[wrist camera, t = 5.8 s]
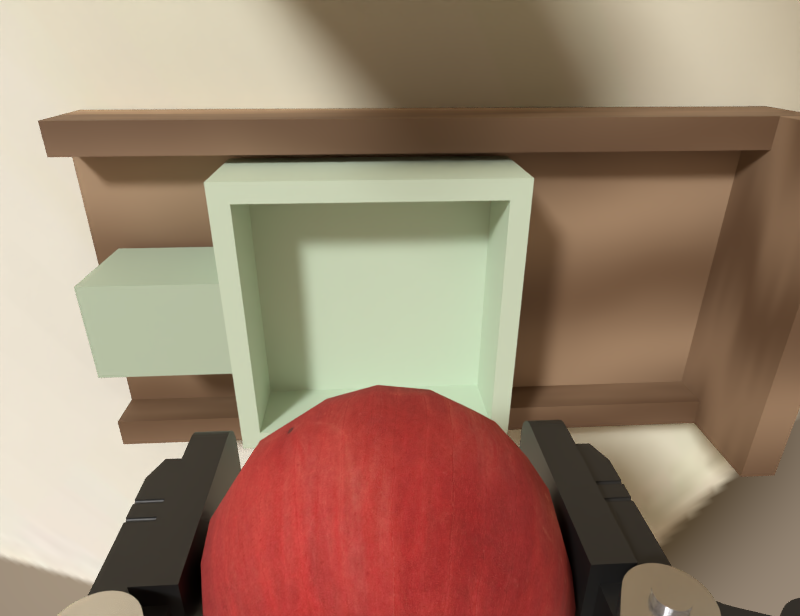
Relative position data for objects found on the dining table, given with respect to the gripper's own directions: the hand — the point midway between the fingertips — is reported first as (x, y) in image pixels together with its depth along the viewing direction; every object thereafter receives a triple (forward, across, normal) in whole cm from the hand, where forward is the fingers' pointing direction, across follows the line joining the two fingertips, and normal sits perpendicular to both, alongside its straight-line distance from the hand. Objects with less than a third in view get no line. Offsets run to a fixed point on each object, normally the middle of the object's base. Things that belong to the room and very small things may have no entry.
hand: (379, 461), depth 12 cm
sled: (+9, +2, 0) cm, 9 cm away
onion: (+1, 0, 0) cm, 1 cm away
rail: (+11, -2, 0) cm, 11 cm away
